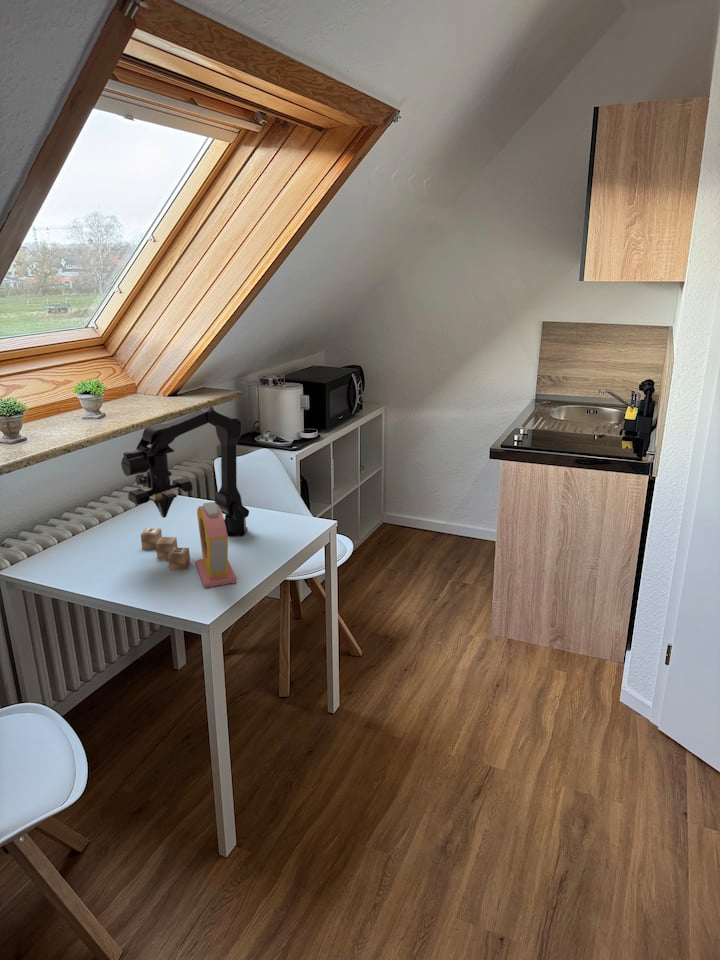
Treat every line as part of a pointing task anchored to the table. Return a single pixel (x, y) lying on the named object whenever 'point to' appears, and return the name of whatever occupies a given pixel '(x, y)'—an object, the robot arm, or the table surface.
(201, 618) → the table surface
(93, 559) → the table surface
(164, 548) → the plain block
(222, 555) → the pink yellow upright block
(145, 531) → the numbered block
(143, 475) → the robot arm
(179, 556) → the numbered block
